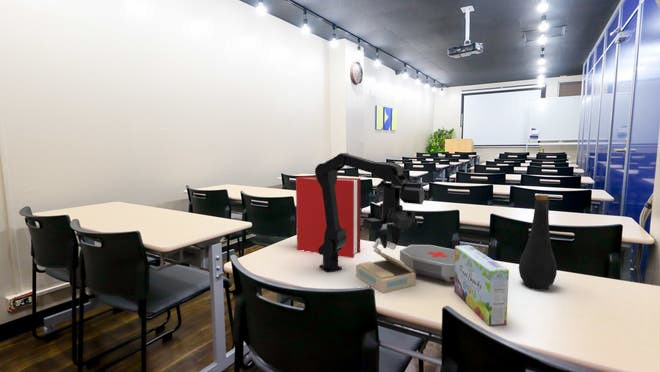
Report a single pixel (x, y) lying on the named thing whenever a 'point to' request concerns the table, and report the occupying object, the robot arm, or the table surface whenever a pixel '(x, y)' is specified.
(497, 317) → the snack box
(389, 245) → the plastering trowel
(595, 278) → the table surface
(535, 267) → the bottle
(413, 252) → the first aid kit
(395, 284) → the carton
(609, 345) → the table surface
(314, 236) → the book
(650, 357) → the table surface
